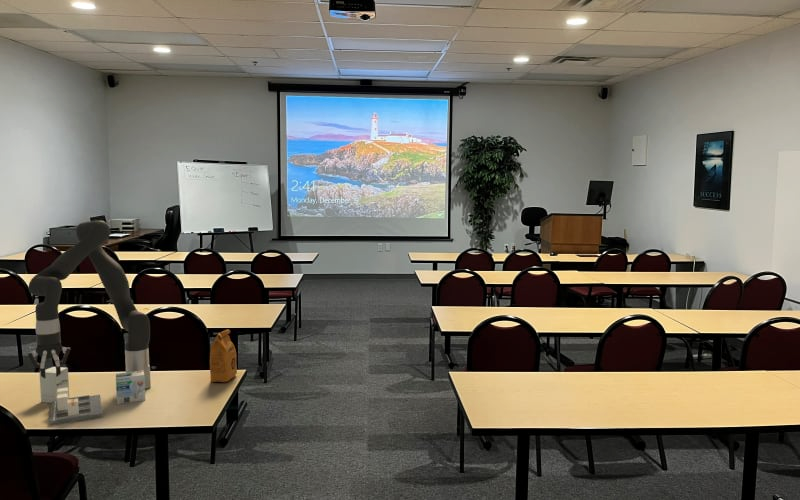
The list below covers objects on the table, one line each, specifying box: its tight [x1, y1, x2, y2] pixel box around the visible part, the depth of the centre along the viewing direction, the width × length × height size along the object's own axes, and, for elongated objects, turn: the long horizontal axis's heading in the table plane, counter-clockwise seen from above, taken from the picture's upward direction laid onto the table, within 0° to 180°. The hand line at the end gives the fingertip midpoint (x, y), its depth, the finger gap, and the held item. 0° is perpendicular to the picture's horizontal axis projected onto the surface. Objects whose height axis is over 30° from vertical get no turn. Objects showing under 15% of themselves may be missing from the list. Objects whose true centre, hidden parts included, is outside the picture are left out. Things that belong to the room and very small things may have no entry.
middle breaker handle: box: [57, 393, 69, 411], centre depth 226 cm, size 4×4×5 cm
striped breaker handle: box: [67, 398, 79, 416], centre depth 221 cm, size 4×4×5 cm
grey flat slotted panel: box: [49, 394, 104, 427], centre depth 228 cm, size 17×22×2 cm
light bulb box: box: [115, 370, 146, 405], centre depth 240 cm, size 11×7×11 cm, turn 117°
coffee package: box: [209, 329, 238, 383], centre depth 265 cm, size 10×12×22 cm
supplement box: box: [38, 366, 70, 404], centre depth 239 cm, size 7×7×13 cm
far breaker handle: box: [57, 387, 69, 400], centre depth 232 cm, size 4×4×5 cm
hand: (50, 376), depth 216 cm, fingers open, 3 cm apart
